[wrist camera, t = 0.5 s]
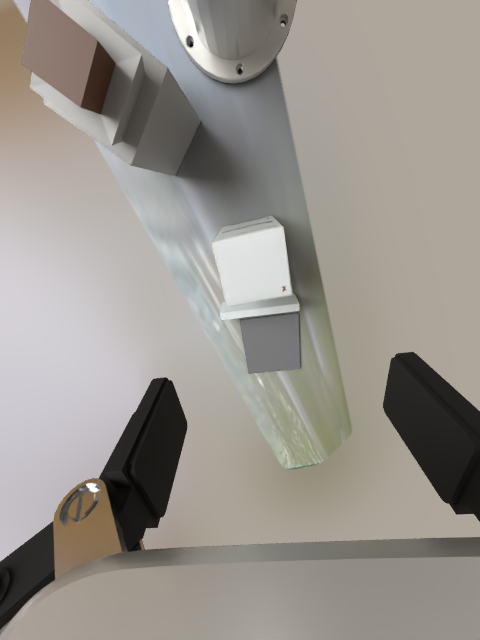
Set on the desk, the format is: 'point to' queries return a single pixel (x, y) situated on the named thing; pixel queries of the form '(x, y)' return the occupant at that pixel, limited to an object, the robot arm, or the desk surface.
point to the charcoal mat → (271, 342)
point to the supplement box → (252, 261)
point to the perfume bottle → (107, 84)
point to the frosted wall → (260, 308)
